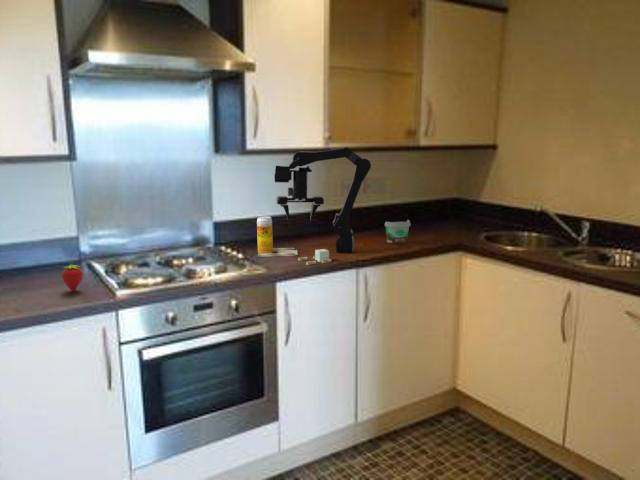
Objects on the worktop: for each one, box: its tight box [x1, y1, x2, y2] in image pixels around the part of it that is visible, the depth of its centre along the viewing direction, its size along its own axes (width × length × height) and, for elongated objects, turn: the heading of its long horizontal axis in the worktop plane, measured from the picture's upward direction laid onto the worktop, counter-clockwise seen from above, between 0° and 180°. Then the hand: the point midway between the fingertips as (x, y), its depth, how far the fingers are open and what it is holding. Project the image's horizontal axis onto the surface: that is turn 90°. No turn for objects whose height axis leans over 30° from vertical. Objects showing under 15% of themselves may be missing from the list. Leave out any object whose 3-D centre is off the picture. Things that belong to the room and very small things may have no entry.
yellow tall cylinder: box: [256, 215, 274, 254], centre depth 224 cm, size 6×6×15 cm
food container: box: [384, 219, 411, 245], centre depth 243 cm, size 12×6×10 cm, turn 114°
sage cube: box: [314, 248, 330, 263], centre depth 213 cm, size 4×4×4 cm
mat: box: [277, 249, 299, 256], centre depth 226 cm, size 8×8×1 cm
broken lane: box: [297, 255, 332, 266], centre depth 212 cm, size 10×8×1 cm
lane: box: [257, 247, 296, 258], centre depth 226 cm, size 15×11×1 cm
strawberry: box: [61, 262, 84, 293], centre depth 173 cm, size 6×8×10 cm
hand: (299, 221), depth 227 cm, fingers open, 9 cm apart
